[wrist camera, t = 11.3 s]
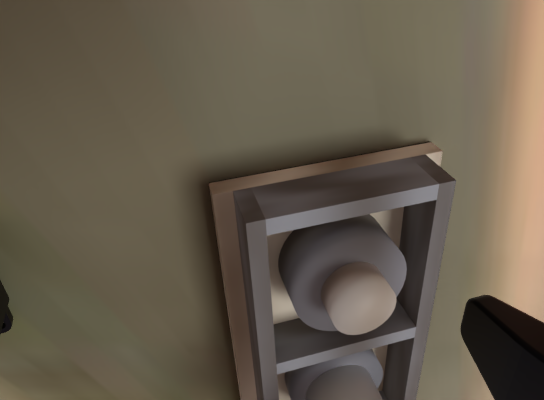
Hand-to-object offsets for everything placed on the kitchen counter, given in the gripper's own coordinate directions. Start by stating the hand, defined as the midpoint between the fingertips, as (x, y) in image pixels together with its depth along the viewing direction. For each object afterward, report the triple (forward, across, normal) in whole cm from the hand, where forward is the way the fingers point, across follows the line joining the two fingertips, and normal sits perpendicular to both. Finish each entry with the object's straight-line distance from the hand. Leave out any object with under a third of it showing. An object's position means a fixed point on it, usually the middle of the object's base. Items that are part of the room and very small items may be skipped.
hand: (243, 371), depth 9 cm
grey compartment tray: (+13, -6, +13) cm, 20 cm away
